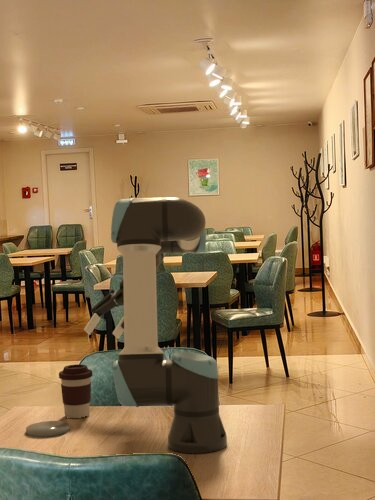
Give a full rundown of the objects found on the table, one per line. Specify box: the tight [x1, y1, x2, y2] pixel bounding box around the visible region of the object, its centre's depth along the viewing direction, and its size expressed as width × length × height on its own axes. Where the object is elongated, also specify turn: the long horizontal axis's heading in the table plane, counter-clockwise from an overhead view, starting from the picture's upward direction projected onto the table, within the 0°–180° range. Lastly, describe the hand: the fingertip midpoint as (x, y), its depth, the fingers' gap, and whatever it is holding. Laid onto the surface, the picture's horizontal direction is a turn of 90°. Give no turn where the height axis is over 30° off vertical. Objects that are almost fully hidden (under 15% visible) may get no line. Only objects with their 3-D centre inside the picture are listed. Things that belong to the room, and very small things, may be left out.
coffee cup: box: [58, 363, 93, 419], centre depth 219 cm, size 10×10×15 cm
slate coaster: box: [25, 420, 71, 439], centre depth 204 cm, size 12×12×1 cm
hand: (100, 334), depth 226 cm, fingers open, 13 cm apart
